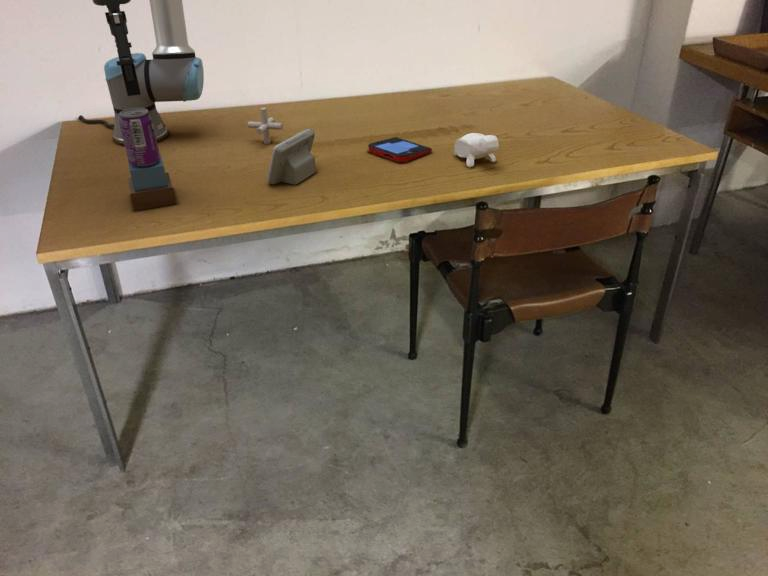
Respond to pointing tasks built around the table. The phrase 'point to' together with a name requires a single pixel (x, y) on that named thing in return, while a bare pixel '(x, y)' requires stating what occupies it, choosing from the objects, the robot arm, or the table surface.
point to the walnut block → (152, 196)
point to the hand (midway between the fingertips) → (132, 86)
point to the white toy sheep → (476, 147)
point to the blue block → (148, 176)
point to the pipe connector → (265, 125)
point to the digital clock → (292, 159)
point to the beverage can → (139, 137)
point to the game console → (398, 149)
